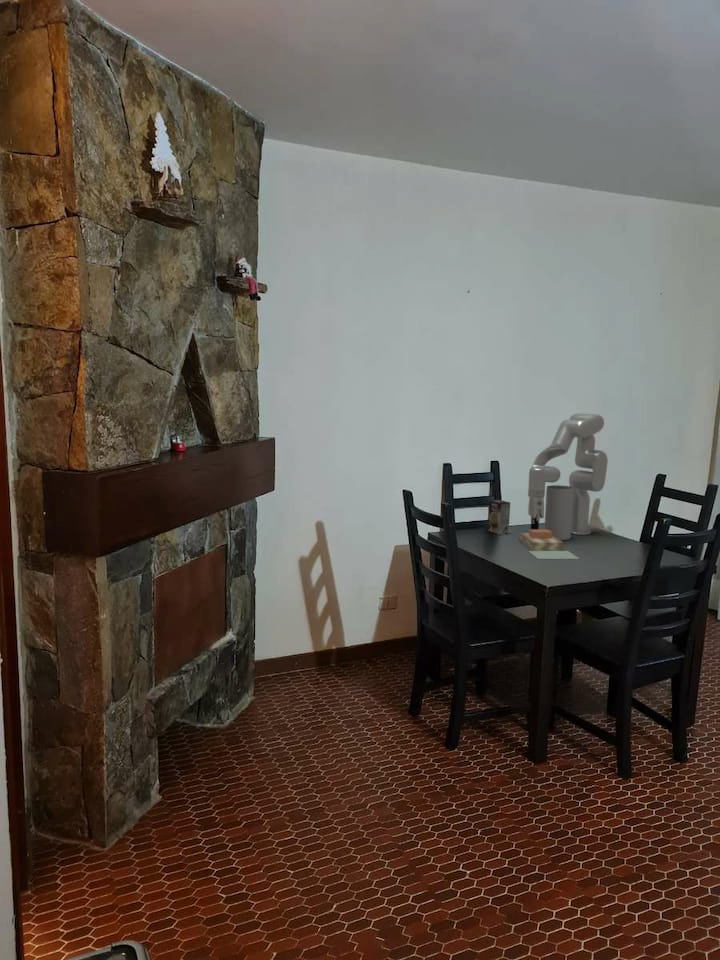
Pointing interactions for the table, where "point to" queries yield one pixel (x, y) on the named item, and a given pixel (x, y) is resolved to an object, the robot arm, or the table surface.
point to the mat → (553, 555)
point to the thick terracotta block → (540, 533)
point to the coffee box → (499, 516)
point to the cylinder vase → (559, 511)
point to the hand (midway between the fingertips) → (534, 531)
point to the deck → (541, 543)
